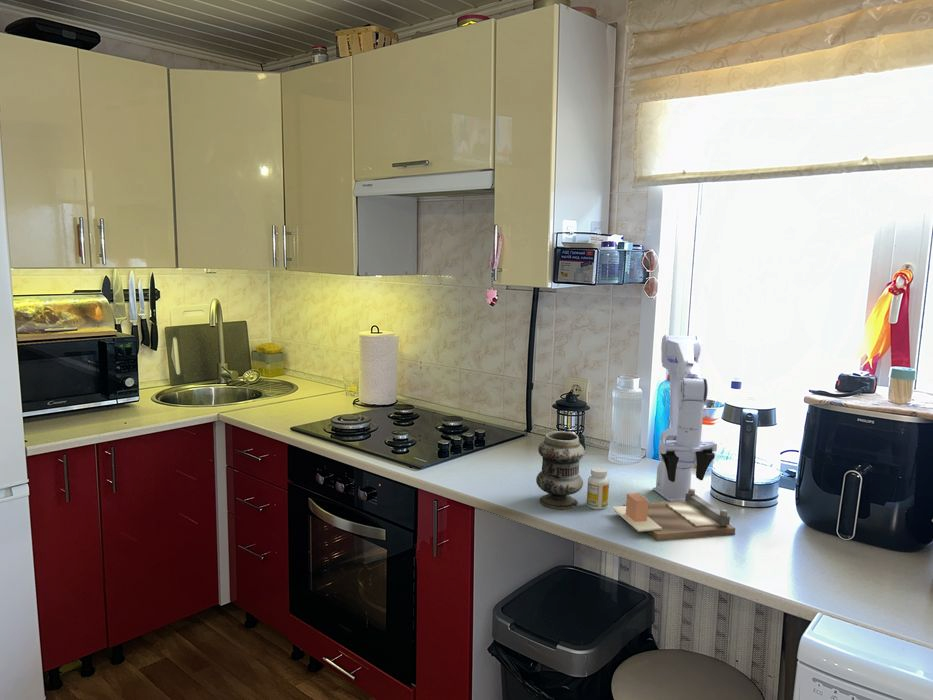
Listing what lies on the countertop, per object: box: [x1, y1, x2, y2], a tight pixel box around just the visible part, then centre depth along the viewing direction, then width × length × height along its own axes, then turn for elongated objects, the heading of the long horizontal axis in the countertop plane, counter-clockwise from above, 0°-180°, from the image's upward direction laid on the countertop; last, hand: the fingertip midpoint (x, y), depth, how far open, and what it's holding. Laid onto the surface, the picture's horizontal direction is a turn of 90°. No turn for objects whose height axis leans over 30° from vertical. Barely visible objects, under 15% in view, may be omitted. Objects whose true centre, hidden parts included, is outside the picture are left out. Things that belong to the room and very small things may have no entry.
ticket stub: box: [611, 492, 662, 532], centre depth 163 cm, size 14×6×5 cm, turn 13°
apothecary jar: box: [535, 430, 586, 510], centre depth 176 cm, size 12×12×18 cm
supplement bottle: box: [586, 466, 610, 510], centre depth 175 cm, size 5×5×10 cm
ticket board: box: [621, 488, 736, 542], centre depth 166 cm, size 18×20×5 cm
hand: (685, 479), depth 169 cm, fingers open, 7 cm apart
